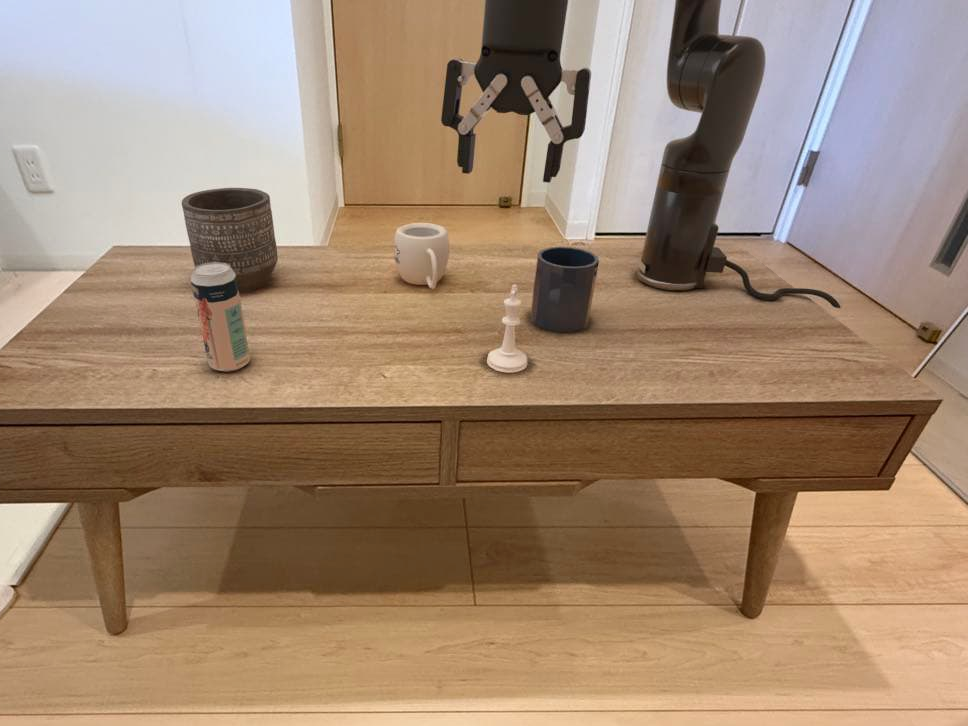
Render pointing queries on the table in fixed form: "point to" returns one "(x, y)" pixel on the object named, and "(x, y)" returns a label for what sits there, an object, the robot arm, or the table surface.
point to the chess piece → (509, 340)
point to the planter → (233, 233)
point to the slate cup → (563, 288)
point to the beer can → (220, 316)
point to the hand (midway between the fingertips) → (506, 176)
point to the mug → (421, 253)
